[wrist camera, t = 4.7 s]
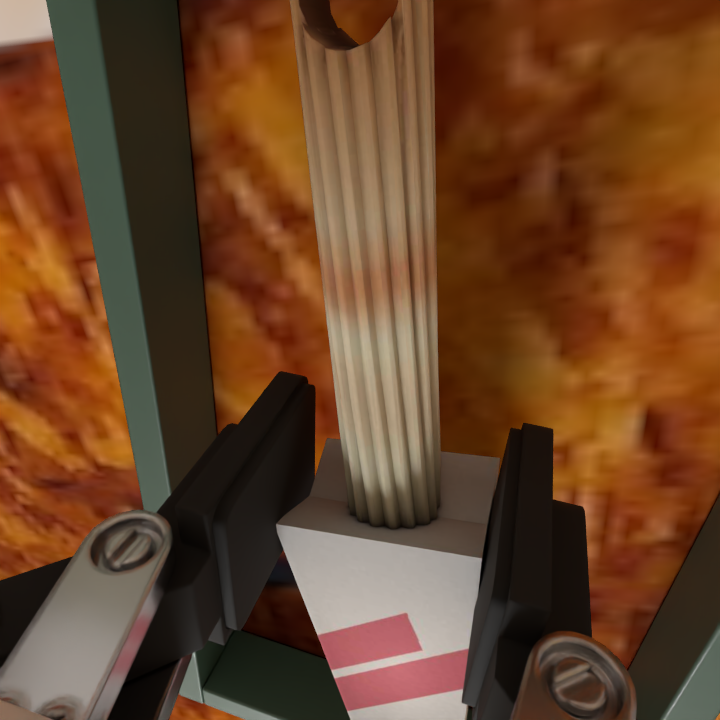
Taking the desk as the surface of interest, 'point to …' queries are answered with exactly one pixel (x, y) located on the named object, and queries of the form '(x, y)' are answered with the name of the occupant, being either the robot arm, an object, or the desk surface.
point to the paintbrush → (384, 384)
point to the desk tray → (192, 361)
